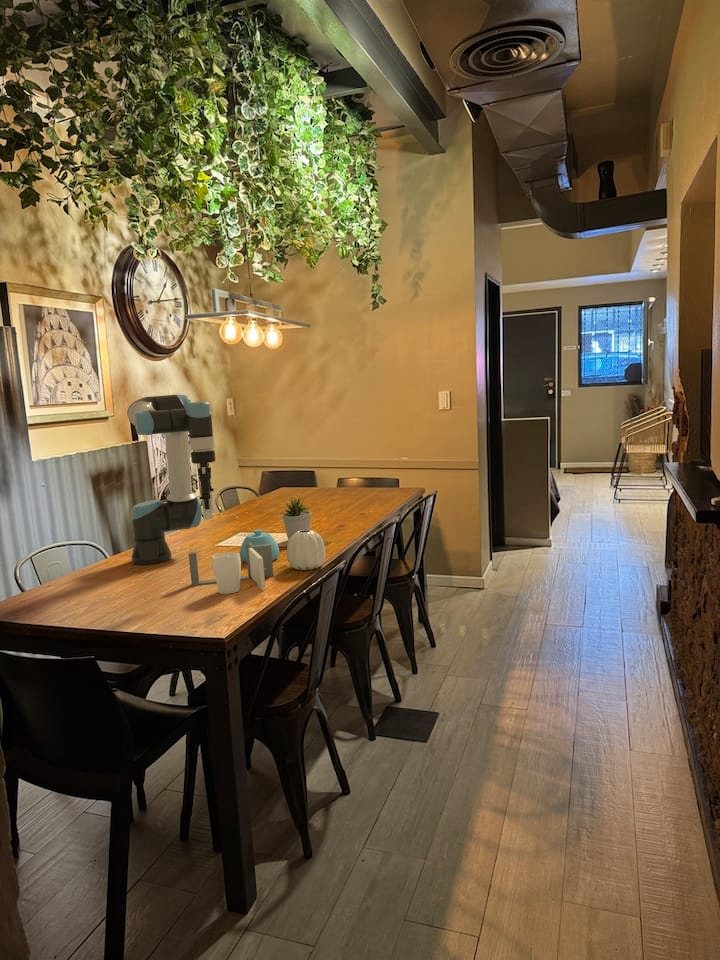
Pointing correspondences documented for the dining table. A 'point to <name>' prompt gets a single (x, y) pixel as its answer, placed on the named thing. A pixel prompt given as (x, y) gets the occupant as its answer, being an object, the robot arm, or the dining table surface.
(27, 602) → the dining table surface
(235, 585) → the cup
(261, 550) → the grey u-shaped bar
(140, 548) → the robot arm
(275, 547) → the sugar bowl
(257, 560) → the curved cream plank
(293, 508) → the potted plant
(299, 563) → the vase
